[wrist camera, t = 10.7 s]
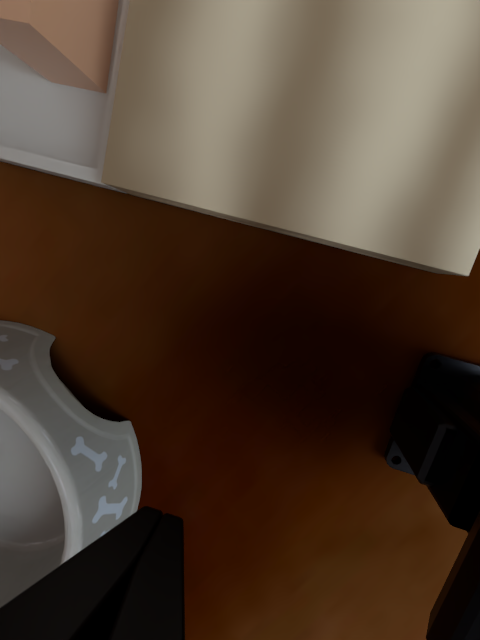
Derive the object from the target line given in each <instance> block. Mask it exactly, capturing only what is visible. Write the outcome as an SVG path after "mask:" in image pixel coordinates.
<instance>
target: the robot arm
mask: <svg viewBox="0 0 480 640" xmlns="http://www.w3.org/2000/svg"><path fill="white" fill-rule="evenodd" d="M434 359H436V360H437V364H436V365H435V366H433V367H430V362H431V361H432V360H434ZM390 433H391V435H392V436H391V439H390V441H389V444H388V446H387V449H386V451H385V455H384V457H385V460H386V462H387V464H388V465H389V466H390V467H392V468H394V469H397V470H400V471H403V472H406V473H410V474H413V475H415V476H416V478H417V480H418V481H419V483H421V484H424V485H426V486H427V487H428V489H429V490H430V492H431V494H432V495H433V497H434V499H435V500H436V502H437V504H438V505H439V507H440V509H441V510H442V512H443V514H444V515H445V517H446V518H447V520H448V522H449V523H450V525H452V526H454V527H457V528H460V529H463V530H466V531H467V532H468V536H467V538H466V540H465V542H464V544H463V546H462V548H461V551H460V553H459V555H458V557H457V559H456V561H455V563H454V565H453V567H452V569H451V571H450V573H449V575H448V577H447V580H446V582H445V584H444V586H443V588H442V590H441V592H440V594H439V596H438V598H437V600H436V602H435V604H434V606H433V609H432V611H431V613H430V618H429V623H428V629H427V634H426V639H427V640H480V365H477V364H474V363H470V362H467V361H463V360H459V359H456V358H452V357H449V356H445V355H442V354H438V353H432V352H431V353H427V354H426V355H424V356H423V358H422V360H421V362H420V365H419V367H418V370H417V373H416V375H415V378H414V380H413V383H412V385H411V386H410V387H409V388H407V389H405V391H404V394H403V397H402V399H401V402H400V404H399V407H398V409H397V412H396V414H395V417H394V420H393V422H392V425H391V427H390ZM394 456H399V458H398V459H397V460H392V457H394ZM0 640H185V605H184V527H183V519H182V518H180V517H177V516H174V515H172V514H169V513H165V514H164V515H163V513H162V511H160V510H157V509H154V508H151V507H148V506H144V507H142V508H141V509H139V510H138V511H136V512H135V513H134V514H132V515H131V516H129V517H128V518H126V519H125V520H124V521H122V522H121V523H119V524H118V525H116V526H115V527H114V528H112V529H111V530H109V531H108V532H107V533H105V534H104V535H102V536H101V537H99V538H98V539H97V540H95V541H94V542H92V543H91V544H90V545H88V546H87V547H85V548H84V549H82V550H81V551H80V552H78V553H77V554H75V555H74V556H73V557H71V558H70V559H68V560H67V561H65V562H64V563H63V564H61V565H60V566H58V567H57V568H56V569H54V570H53V571H51V572H50V573H48V574H47V575H46V576H44V577H43V578H41V579H40V580H38V581H37V582H36V583H34V584H33V585H31V586H30V587H29V588H27V589H26V590H24V591H23V592H21V593H20V594H19V595H17V596H16V597H14V598H13V599H12V600H10V601H9V602H7V603H6V604H4V605H3V606H2V607H0Z"/></svg>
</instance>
